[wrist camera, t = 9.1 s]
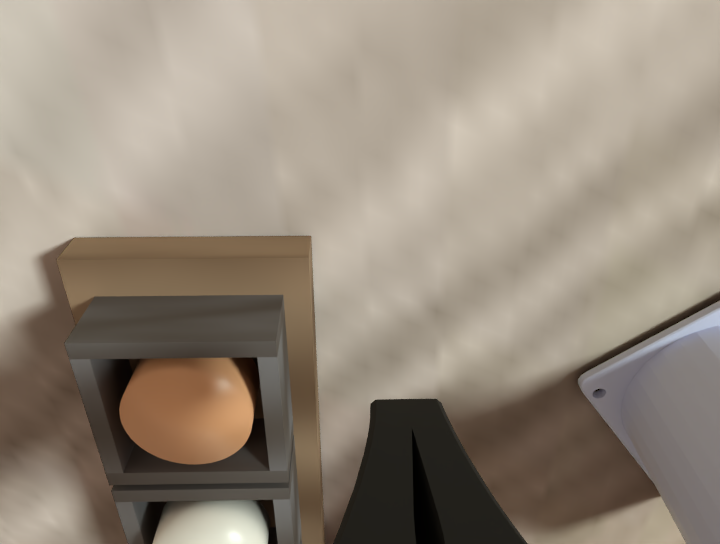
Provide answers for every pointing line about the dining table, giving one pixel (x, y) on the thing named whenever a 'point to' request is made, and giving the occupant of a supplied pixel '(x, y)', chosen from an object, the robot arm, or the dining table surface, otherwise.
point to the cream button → (213, 523)
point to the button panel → (202, 340)
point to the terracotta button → (191, 407)
